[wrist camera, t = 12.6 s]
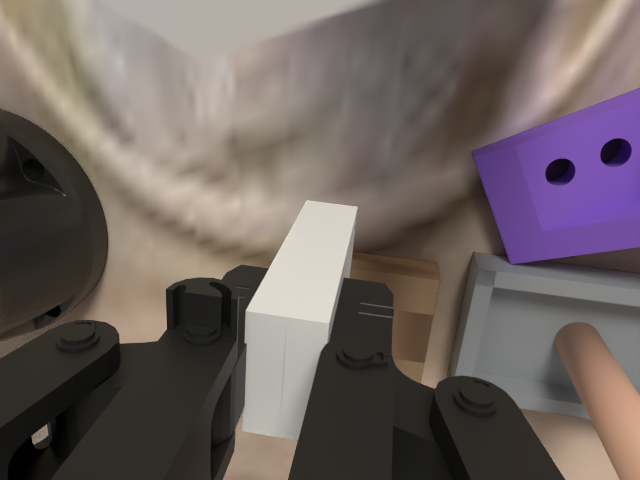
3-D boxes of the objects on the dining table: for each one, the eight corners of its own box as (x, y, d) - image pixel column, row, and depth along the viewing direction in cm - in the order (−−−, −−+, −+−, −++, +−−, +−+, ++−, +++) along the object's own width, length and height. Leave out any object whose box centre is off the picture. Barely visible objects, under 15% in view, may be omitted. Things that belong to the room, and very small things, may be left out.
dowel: (550, 355, 33) (625, 520, 22) (559, 319, 32) (644, 473, 21) (593, 361, 33) (692, 530, 22) (604, 324, 32) (713, 483, 21)
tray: (447, 374, 35) (450, 397, 33) (473, 252, 32) (478, 268, 30) (666, 407, 34) (684, 434, 32) (718, 283, 31) (743, 303, 28)
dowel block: (300, 351, 36) (294, 373, 34) (309, 245, 33) (302, 261, 31) (417, 369, 36) (418, 393, 33) (437, 262, 33) (440, 280, 30)
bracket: (701, 62, 27) (793, 72, 21) (725, 183, 29) (816, 227, 23) (470, 150, 30) (488, 182, 24) (506, 253, 32) (531, 308, 26)
